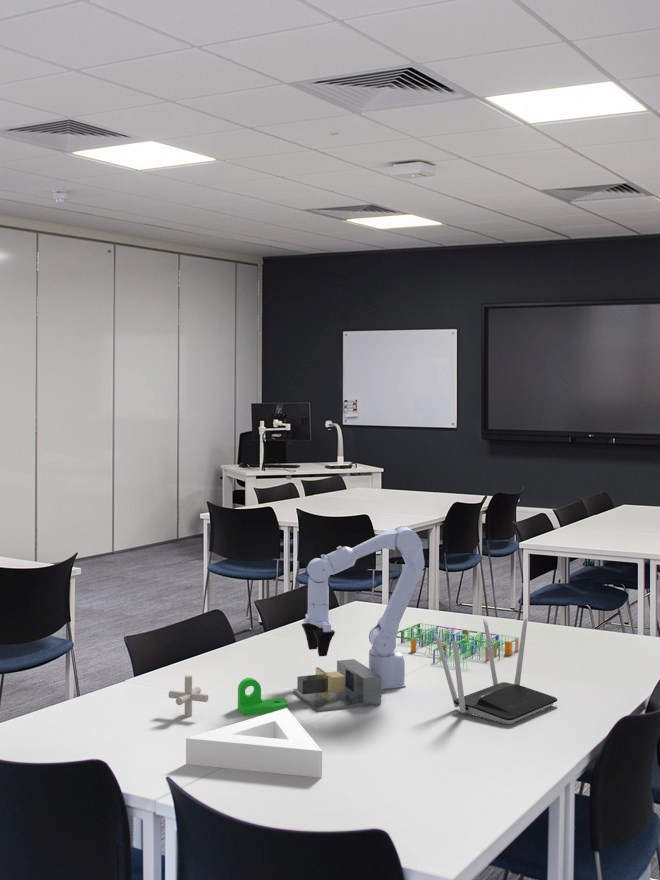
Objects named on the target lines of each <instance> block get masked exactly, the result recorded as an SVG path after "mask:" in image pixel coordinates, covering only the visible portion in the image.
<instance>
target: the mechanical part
mask: <svg viewBox="0 0 660 880" xmlns="http://www.w3.org/2000/svg"><path fill="white" fill-rule="evenodd" d="M249 687H253V690H252V692H251V693H250V694H246V690H247V688H249ZM285 708H287V709H288V701H287V700H286V699H285V698H284V697H278V698H277V697H275V698H266V699H262V687H261V684H260V682H258V681H257V680H256V679H255V678H253V677H245V678H244V679H242V680H241V681H240V682H239V684H238V687H237V710H239V711H240V713H241V714H242V715H243V716H252V715H265V714H268V713H272V712H275V711H278V710H282V709H285Z"/></svg>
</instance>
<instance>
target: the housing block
mask: <svg viewBox="0 0 660 880" xmlns="http://www.w3.org/2000/svg"><path fill="white" fill-rule="evenodd" d="M336 662H337V663H336V671H338V672H339V673H341V674H342V675H343V676H345V689H344V692H335V693H331V699H329V700H328V699H326V698H325V697H324V696H323V695H321V694H320V693H313V694H304V695H303V694H301V693H300V692H299V691H298V690H297V688H293V693H294V694H295V695H296V696H298V698H300V699H301V700H303V702H305V703H306V704H307V705H308V706H310V707H311V708H312V709H313V710H314V711H316V712H318V713H321V712H329V711H336V710H337V711H338V710H346V709H355V708H362V707H363V708H365V707H373V705H374V706H380V705H379V704H381V705H382V689H381V676H380V675H378V674H377V673H375V672H374V671H372V670H370V669H369V667H367V666H366V665H364V664H362V663H361V662H359V661H358V660H356V659H355V658H352V659H343V660H336ZM364 706H365V707H364Z"/></svg>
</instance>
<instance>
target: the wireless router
mask: <svg viewBox="0 0 660 880" xmlns="http://www.w3.org/2000/svg"><path fill="white" fill-rule="evenodd" d="M528 621H529V619H528V618H524V620H523V622H522V626H521V627H522V628H521V633H520V639H519V641H520V642H519V651H518V655H517V662H516V671H515V677H514V683H510V682H507V681H505V682H504V681H502V682H499V683H498V677H497V676H498V675H497V669H496V665H495V659H494V658H495V657H494V656H493V650H492V646H491V640H490V638H491V637H490V636H491V635H490V634H489V633H490V629H489V624H488V622H487V620H486V619H485V618H484V619H483V626H484V627H483V629H484V633H485V634H484V635H485V638H486V641H487V644H486V647H488V654H489V664H490V665H489V666H490V671H491V679H492V684H493V685H491V686H489V687H486V688H483V689H480V690H478V691H475V692H472V693H469V694H467V695H465V693H464V686H463V685H464V684H463V677H462V670H461V660H459V659H460V654H459V653H460V652H459V653H458V645H457V643H456V639H455V640H452V641H453V646H452V649H453V650H452V651H453V652H454V653H453V657H454V666H455V667H454V669H455V676H456V685H457V686H456V688H457V692H456V688H455V684H454V682H453V678H452V674H451V672H450V667H449V663H448V660H447V657H445V654H444V651H443V648H442V644H441V643H442V640H441V637H440V638H439V634H438V635H437V634H436V632H435V633H433V636H434V635H435V639H436V641H435V642H436V643H437V644H436V645H437V647H438V650H439V651H438V654H439V655H440V660H441V665H442V666H443V670H444V674H445V677H446V681H447V684H448V688H449V691H450V692H449V693H450V695H451V698H452V702H453V706H454V708H458V707H459V712H460V713H461V714H466V713H470V714H474V715H477V716H481V717H484V718H483V719H485V718H487V719H486V720H489V719H491V720H490V721H492V720H494V721H493V722H496V721H498V722H497V723H500V722H502V723H501V724H504V723H505V724H504V725H511V724H512V725H513V724H514V723H516V721H517V722H518V720H519V721H521V720H523V719H522V718H524V719H526V718H527V716H528V717H530V716H529V715H531V714H533V713H535V712H538V711H540V710H542V709H544V710H546V709H545V708H547V707H549V708H551V707H552V706H553V705H554V704H555V703H556V702H558V698H557V697H555V696H553V695H549V694H548V693H544V692H541V691H538V690H536V689H535V690H534V689H532V688H530V687H526V686H524V685H521V677H522V669H523V660H524V653H525V644H526V636H527V627H528V626H527V625H528ZM452 641H451V642H452ZM550 706H551V707H550ZM547 709H548V708H547ZM542 711H543V710H542ZM465 712H466V713H465ZM540 712H541V711H540ZM538 713H539V712H538ZM470 714H469V715H470ZM535 714H536V713H535ZM474 715H473V716H474ZM533 715H534V714H533ZM477 716H476V717H477ZM531 716H532V715H531ZM481 717H480V718H481ZM525 717H526V718H525ZM520 719H521V720H520Z"/></svg>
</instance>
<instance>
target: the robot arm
mask: <svg viewBox="0 0 660 880" xmlns="http://www.w3.org/2000/svg"><path fill="white" fill-rule="evenodd" d="M396 548H397V550H398V551H399V552H400V554H401V557H402V558H403V561H404V563H405V564H404V566H403V568H402V571H401V573H400V576H399V578H398V580H397V582H396V585H395V587H394V589H393V592H392V594H391V596H390V598H389V601H388V603H387V605H386V608H385V610H384V611H383V614H382V616H381V617H380V618H379V619H378V621H377V623H376V625H375V626H374V627H372V629H371V630H370V631H369V633H368V641H369V642H370V644H371V645H372V646H371V648H370V649H369V650H368V668H369V669H370V670H372V671H374V672H375V673H377V674H378V675H380V676H381V690H387V689H388V690H389V689H397V688H398V689H399V688H405V687H406V684H405V674H406V673H405V671H406V670H405V668H406V666H405V662H406V661H405V658H404V655H403V654H402V652H400V651H395V650H396V646H397V638H396V637H397V636H398V634H399V633H398V631H399V628H400V624H401V620H402V618H403V616H404V614H405V613H406V612H405V611H406V610H407V606H408V605H409V603H410V600H411V598H412V596H413V594H414V593H413V592H414V590H415V589H416V586H417V584H418V581H419V580H420V577H421V575H422V573H423V570H424V568H425V564H426V563H425V562H426V561H425V557H424V556H425V555H424V551H423V542H422V540H421V538H420V536H419V535H418V533H417V532H416V531H414V530H412V529H411V528H410V527H409V526H406V525H400V526H399V525H398V526H397V527H396V528H392V529H388V530H386V531H384V532H382V533H379V534H377V535H376V536H374V537H371V538H370V539H368V540H366V541H363V542H361V543H360V544H357V545H356V546H354V547H349V546H341V545H339V546H337V547H336V550H334V551H331V552H330V553H327V554H320V557H321V558H320V557H319V558H318V557H315V558H313V559H312V560H310V561H309V563H308V565H307V567H306V572H307V574H308V575H309V576H308V579H307V584H308V585H307V613H305V619H303V621H302V622H303V623H302V624H301V627H302V629H303V631H304V634H305V638H306V642H307V647H308V650H317V655H318V657H327V656H328V652H329V648H330V645H331V641H332V639H333V637H334V636H335V634H336V631H335V630H334V629H332V624H331V623H330V618H329V614H330V613H329V610H330V608H329V605H330V604H329V603H330V602H329V600H330V599H329V598H330V597H329V596H330V595H329V594H330V593H329V592H330V588H329V587H330V586H329V578H330V576H331V575H335V574H338V573H340V572H342V571H345V570H347V569H349V568H351V567H354V566H355V564H356V562H357V560H358V559H360V558H363V557H365V556H368V555H370V554H373V553H375V552H377V551H380V550H383V549H386V550H393V551H395V550H396Z"/></svg>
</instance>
